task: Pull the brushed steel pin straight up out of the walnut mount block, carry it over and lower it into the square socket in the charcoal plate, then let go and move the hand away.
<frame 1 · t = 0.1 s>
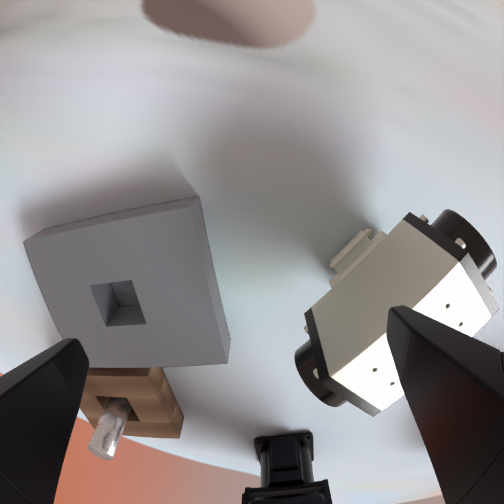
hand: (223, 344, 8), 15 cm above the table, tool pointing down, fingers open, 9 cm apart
socket plate: (131, 285, 24), on the table
steel pin: (114, 418, 25), in the walnut mount
walnut mount: (126, 388, 29), on the table
pneumatic valve: (361, 260, 23), on the table
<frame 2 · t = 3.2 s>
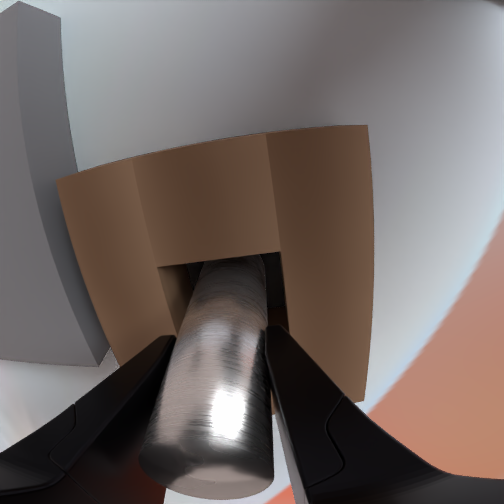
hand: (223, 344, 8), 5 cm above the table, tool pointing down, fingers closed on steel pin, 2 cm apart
steel pin: (224, 338, 8), in the walnut mount, touching gripper
walnut mount: (234, 271, 12), on the table
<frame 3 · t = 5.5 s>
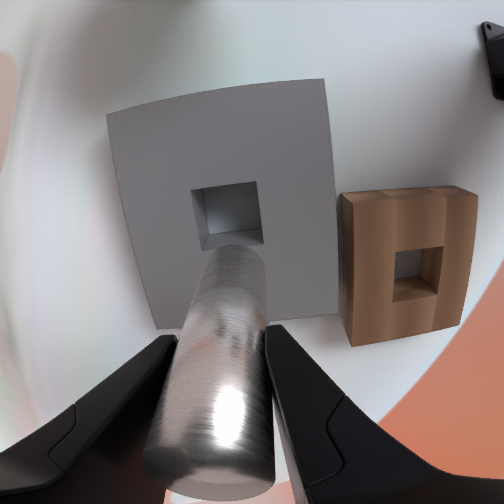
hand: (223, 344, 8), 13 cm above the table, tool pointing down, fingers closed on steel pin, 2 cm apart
socket plate: (232, 204, 20), on the table
steel pin: (225, 340, 8), point 13 cm above the table, touching gripper
walnut mount: (401, 256, 21), on the table
when the fingers open (5 cm above the table, at t = 8.0 s): steel pin stays where it is, resting in socket plate.
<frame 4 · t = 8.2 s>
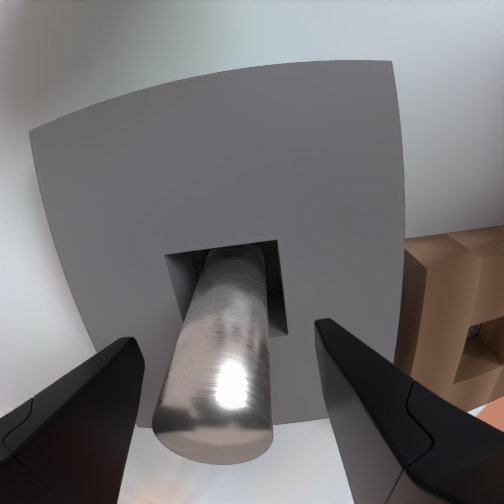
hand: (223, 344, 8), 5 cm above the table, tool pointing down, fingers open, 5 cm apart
socket plate: (234, 261, 13), on the table
steel pin: (227, 320, 9), in the socket plate
walnut mount: (461, 316, 14), on the table
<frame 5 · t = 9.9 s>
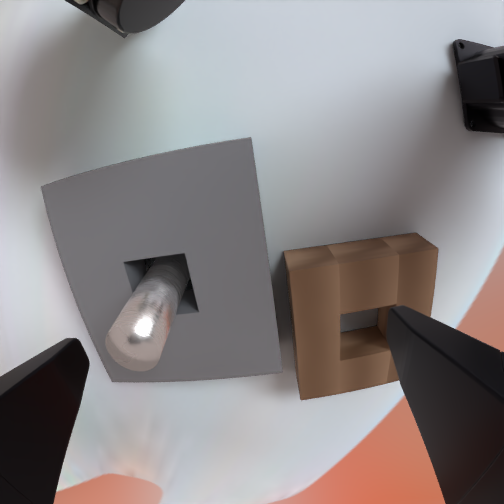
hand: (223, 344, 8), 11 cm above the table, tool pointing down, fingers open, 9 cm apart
socket plate: (172, 266, 20), on the table
steel pin: (156, 299, 16), in the socket plate
walnut mount: (354, 309, 21), on the table
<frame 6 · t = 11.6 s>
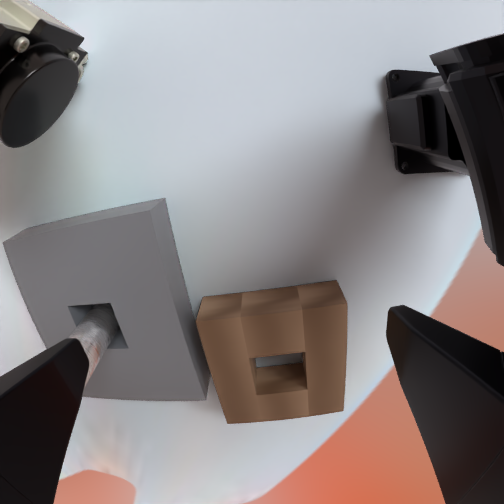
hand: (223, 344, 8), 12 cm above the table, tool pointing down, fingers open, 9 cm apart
socket plate: (113, 305, 22), on the table
steel pin: (90, 339, 18), in the socket plate
walnut mount: (277, 347, 23), on the table
pneumatic valve: (66, 59, 15), on the table
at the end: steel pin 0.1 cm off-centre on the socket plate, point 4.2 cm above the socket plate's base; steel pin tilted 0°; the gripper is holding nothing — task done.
